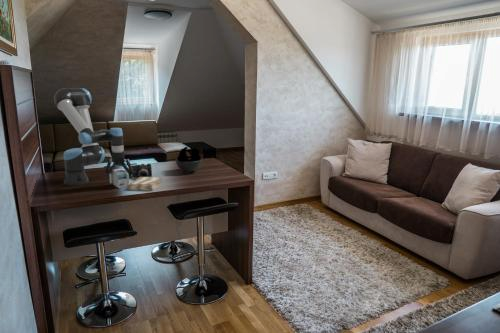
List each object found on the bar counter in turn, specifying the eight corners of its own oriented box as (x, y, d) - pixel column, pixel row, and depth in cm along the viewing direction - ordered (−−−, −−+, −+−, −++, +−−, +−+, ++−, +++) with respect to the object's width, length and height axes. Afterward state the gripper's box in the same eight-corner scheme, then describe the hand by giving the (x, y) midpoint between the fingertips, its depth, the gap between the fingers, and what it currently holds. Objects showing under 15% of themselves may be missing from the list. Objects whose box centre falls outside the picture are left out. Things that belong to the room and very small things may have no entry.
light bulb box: (128, 186, 227) (127, 171, 224) (118, 188, 223) (117, 172, 220) (122, 183, 235) (121, 168, 232) (112, 184, 230) (111, 169, 228)
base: (128, 189, 220) (128, 183, 219) (139, 182, 238) (139, 176, 237) (152, 190, 219) (152, 184, 218) (161, 182, 236) (161, 177, 235)
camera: (132, 180, 241) (131, 167, 238) (131, 176, 251) (130, 163, 248) (152, 179, 245) (152, 165, 243) (151, 175, 255) (150, 162, 253)
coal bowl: (199, 175, 257) (199, 150, 252) (173, 174, 257) (172, 150, 252) (203, 168, 276) (203, 146, 272) (179, 168, 276) (178, 145, 272)
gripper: (97, 152, 220) (100, 184, 225) (133, 153, 218) (135, 185, 224) (103, 149, 228) (106, 180, 233) (138, 150, 226) (140, 182, 231)
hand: (120, 183), depth 228 cm, fingers closed on light bulb box, 12 cm apart
